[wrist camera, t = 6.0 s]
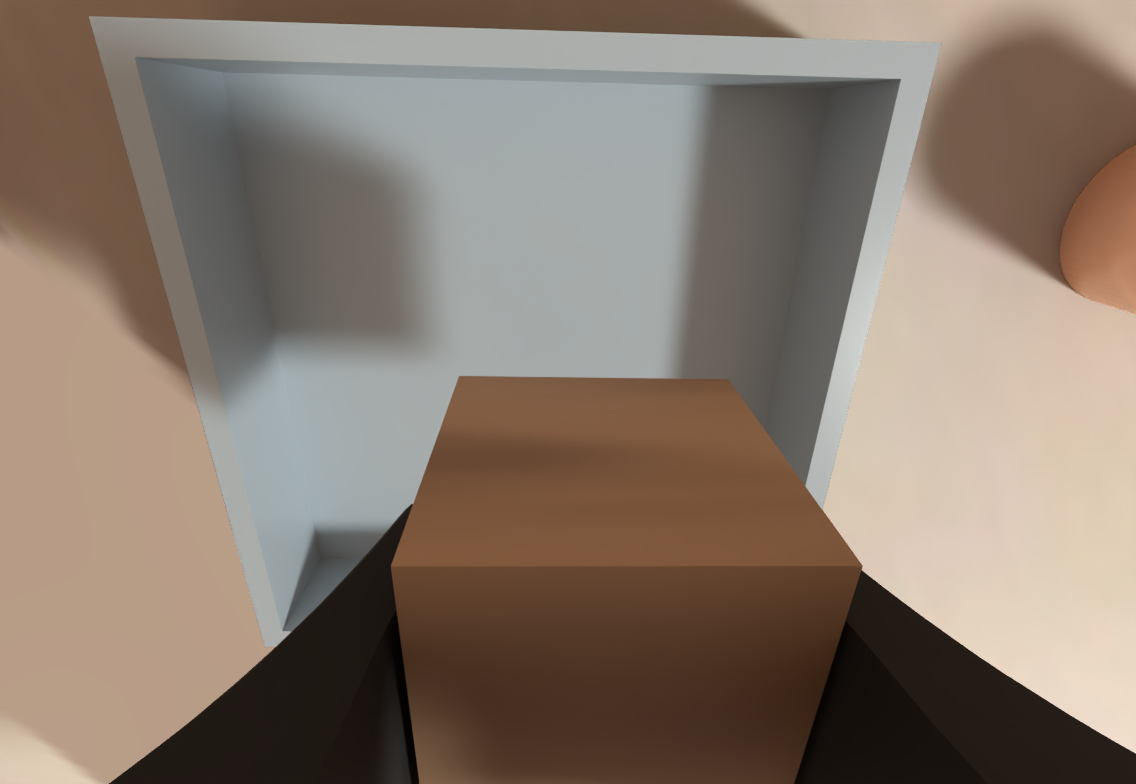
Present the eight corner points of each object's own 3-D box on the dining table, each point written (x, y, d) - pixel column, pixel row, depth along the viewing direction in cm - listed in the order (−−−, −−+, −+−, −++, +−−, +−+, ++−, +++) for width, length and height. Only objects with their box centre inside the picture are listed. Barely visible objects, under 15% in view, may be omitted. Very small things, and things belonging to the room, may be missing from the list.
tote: (747, 554, 20) (788, 641, 17) (314, 556, 20) (264, 646, 16) (843, 64, 14) (941, 42, 10) (207, 45, 13) (88, 16, 10)
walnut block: (695, 584, 12) (776, 836, 8) (471, 584, 12) (428, 843, 7) (728, 379, 10) (863, 565, 6) (459, 376, 10) (390, 567, 5)
